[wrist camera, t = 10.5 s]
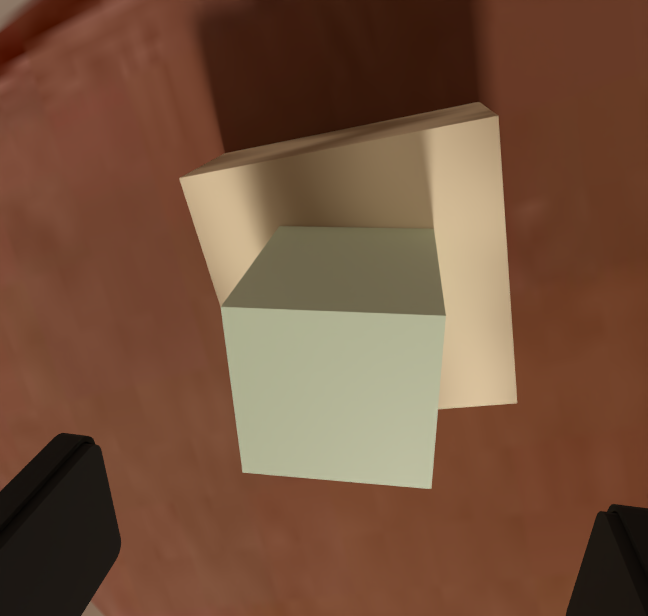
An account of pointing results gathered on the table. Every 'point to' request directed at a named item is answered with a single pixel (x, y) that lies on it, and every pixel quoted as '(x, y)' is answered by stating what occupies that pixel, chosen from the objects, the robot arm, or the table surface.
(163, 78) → the table surface
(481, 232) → the maple block
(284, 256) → the sage block
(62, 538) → the robot arm
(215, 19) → the table surface
